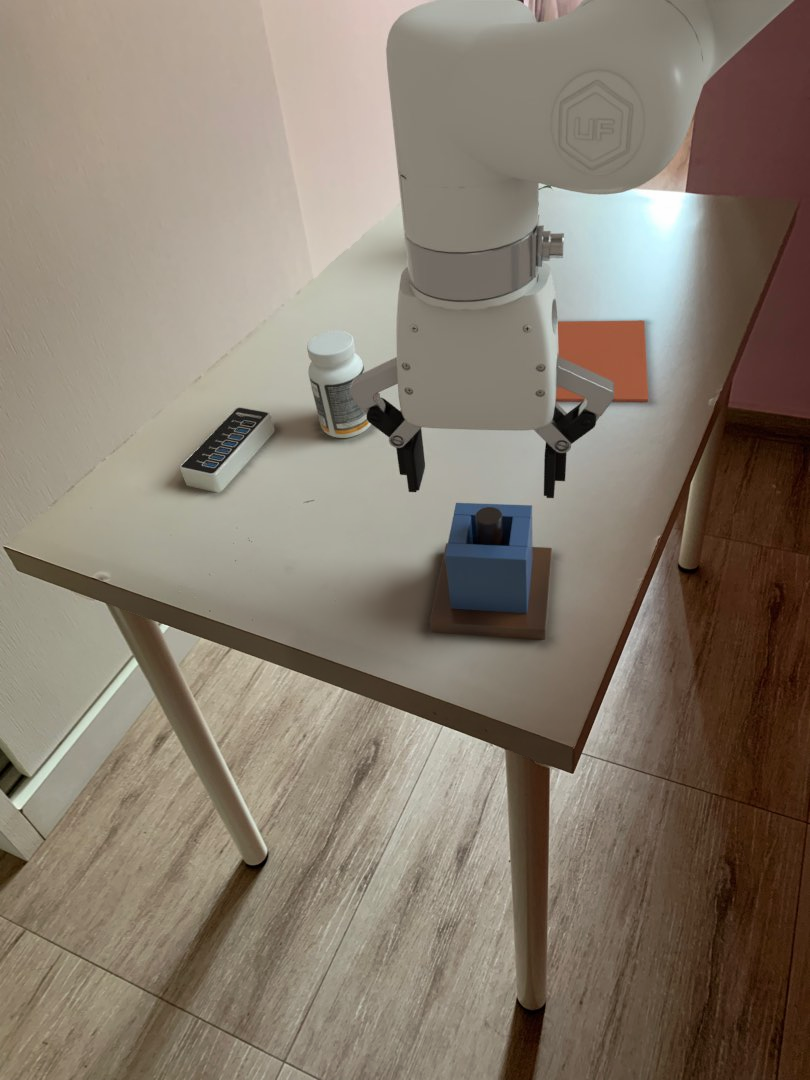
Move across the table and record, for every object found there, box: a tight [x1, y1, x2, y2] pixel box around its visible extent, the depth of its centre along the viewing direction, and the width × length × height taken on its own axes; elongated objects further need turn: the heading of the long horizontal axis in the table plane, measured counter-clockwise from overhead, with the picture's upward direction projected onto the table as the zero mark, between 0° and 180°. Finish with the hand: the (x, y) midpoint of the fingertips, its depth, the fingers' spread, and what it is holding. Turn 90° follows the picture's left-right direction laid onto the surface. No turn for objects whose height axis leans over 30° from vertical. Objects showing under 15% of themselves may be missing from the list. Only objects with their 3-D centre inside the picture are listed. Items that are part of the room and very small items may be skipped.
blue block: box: [445, 502, 533, 613], centre depth 64 cm, size 6×6×6 cm
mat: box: [556, 320, 649, 403], centre depth 90 cm, size 16×16×1 cm
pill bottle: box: [306, 330, 372, 439], centre depth 83 cm, size 6×6×10 cm
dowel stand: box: [429, 507, 553, 640], centre depth 63 cm, size 9×9×9 cm
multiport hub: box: [179, 406, 276, 493], centre depth 84 cm, size 4×11×2 cm, turn 156°
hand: (482, 482), depth 58 cm, fingers open, 9 cm apart
